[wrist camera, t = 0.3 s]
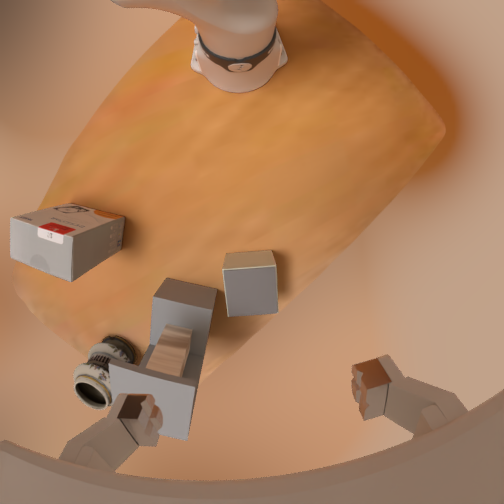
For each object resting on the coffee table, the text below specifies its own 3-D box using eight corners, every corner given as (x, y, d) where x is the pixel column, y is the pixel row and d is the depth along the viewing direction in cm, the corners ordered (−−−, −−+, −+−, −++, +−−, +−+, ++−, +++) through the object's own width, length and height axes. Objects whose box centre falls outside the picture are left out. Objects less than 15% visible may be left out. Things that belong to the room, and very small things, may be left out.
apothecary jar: (128, 328, 61) (97, 374, 44) (147, 368, 64) (125, 417, 47) (90, 334, 62) (57, 375, 44) (110, 371, 65) (84, 415, 48)
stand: (226, 253, 57) (222, 270, 47) (271, 249, 57) (276, 265, 47) (230, 294, 59) (227, 317, 50) (273, 291, 59) (278, 314, 50)
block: (166, 323, 50) (144, 369, 37) (192, 329, 51) (177, 377, 37) (164, 344, 52) (144, 392, 38) (189, 350, 52) (175, 400, 38)
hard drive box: (126, 215, 54) (74, 238, 35) (121, 250, 56) (73, 285, 37) (68, 201, 53) (9, 217, 34) (65, 234, 55) (9, 260, 36)
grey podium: (166, 277, 58) (108, 363, 29) (217, 289, 59) (195, 387, 30) (161, 325, 61) (115, 421, 32) (208, 336, 62) (187, 440, 33)
